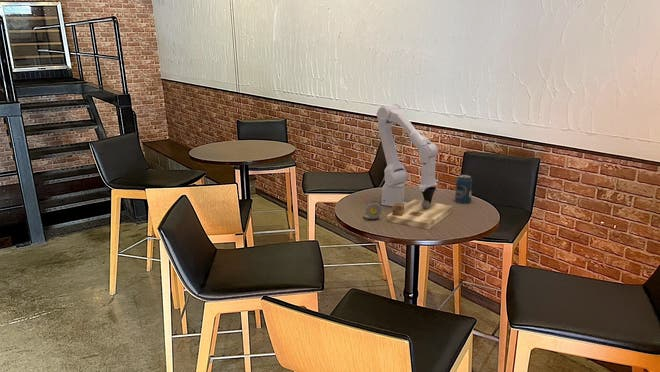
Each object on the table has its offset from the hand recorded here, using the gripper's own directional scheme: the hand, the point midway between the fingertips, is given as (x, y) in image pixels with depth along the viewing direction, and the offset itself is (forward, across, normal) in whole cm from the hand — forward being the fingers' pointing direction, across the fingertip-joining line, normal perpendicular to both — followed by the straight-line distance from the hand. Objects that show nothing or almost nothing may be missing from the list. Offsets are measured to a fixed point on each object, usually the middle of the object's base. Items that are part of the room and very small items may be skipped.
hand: (427, 204), depth 212 cm
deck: (+4, -5, +1) cm, 7 cm away
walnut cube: (+1, -14, +7) cm, 16 cm away
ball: (0, -1, 0) cm, 1 cm away
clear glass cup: (+4, -18, +17) cm, 25 cm away
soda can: (+5, +24, -7) cm, 25 cm away
